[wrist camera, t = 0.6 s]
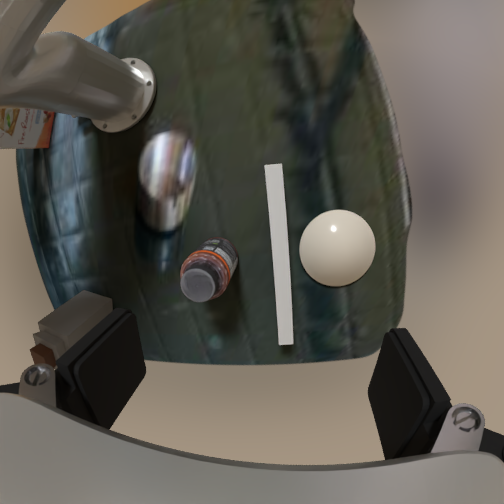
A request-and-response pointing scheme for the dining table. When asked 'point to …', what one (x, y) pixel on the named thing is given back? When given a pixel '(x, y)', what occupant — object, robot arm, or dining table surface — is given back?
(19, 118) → the cracker box
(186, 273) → the supplement bottle
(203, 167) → the dining table surface
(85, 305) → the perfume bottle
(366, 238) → the resting pad
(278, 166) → the low wall
